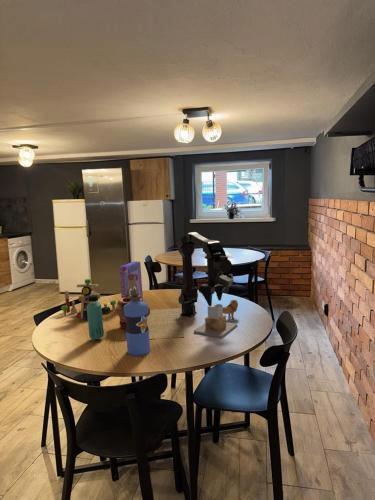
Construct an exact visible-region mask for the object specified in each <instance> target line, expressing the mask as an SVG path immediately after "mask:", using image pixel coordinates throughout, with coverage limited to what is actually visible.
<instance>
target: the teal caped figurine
mask: <svg viewBox="0 0 375 500" xmlns="http://www.w3.org/2000/svg"><path fill="white" fill-rule="evenodd" d="M97 300H98V301H99V299H98V296H97V295H91V296H89V297H88V301H89V302H92V303H89V304H88V305H87V315H88V320H87V326H88V327H87V328H88V336H89V339H90V340H99V339H101V338H103V337H104V335H105V329H104V322H103V321H104V320H103V312H102V309H101V308H102V303H101V302H98V301H97ZM94 301H97V302H94Z"/></svg>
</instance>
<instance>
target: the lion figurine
mask: <svg viewBox="0 0 375 500" xmlns="http://www.w3.org/2000/svg"><path fill="white" fill-rule="evenodd" d="M238 306H239V303H238V300H237V299H232V300H230V302H229V304H227V306H223V315H228V318H229V319H232V320H235V317H234V314H235V313H236V312H237V310H238Z"/></svg>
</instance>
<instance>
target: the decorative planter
mask: <svg viewBox="0 0 375 500" xmlns="http://www.w3.org/2000/svg"><path fill="white" fill-rule="evenodd" d="M140 301H142V302H144V301H143V300H142V299H141V300H140ZM129 302H130V297H128V298H122V297H121V298H120V299H118V300H117V302H116V305H115V310H114V312H115V314H116V315H117V316H118V317H119V325H120V328H121V329H122V330H125V331H126V326H127V324H126V319H125V315H124V305H126V304H128V303H129ZM150 314H151V310H150V308H149V306H148V316H147V318H148V317H149V316H150Z"/></svg>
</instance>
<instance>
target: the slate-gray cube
mask: <svg viewBox="0 0 375 500" xmlns="http://www.w3.org/2000/svg"><path fill="white" fill-rule="evenodd" d="M223 307H224V306H223V304H221V303H213V302H212V305H211V306H209V305H207V316H208V317H211V318H217V319H218V318H219V317H221V316H222V315H224V314H223Z"/></svg>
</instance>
